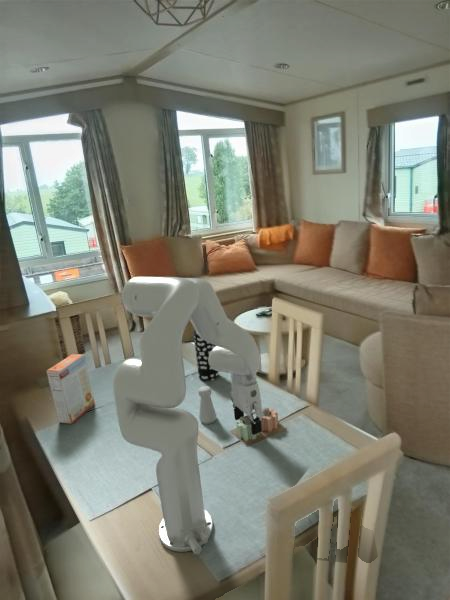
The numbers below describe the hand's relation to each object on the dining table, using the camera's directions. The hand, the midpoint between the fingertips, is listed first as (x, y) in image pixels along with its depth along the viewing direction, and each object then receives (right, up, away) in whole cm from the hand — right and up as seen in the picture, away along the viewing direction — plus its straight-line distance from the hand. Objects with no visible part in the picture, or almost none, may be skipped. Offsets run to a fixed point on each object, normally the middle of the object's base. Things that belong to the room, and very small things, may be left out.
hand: (247, 425), depth 128 cm
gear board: (+3, -3, +3) cm, 6 cm away
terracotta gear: (+6, -1, +4) cm, 8 cm away
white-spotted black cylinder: (-14, +7, +44) cm, 46 cm away
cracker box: (-62, -3, +25) cm, 66 cm away
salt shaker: (-13, -3, +11) cm, 17 cm away
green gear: (0, -3, +1) cm, 3 cm away
